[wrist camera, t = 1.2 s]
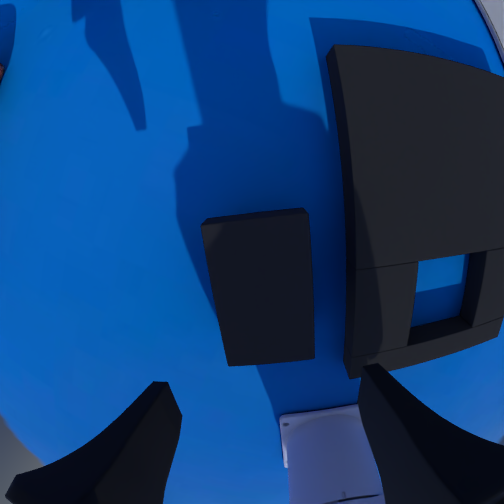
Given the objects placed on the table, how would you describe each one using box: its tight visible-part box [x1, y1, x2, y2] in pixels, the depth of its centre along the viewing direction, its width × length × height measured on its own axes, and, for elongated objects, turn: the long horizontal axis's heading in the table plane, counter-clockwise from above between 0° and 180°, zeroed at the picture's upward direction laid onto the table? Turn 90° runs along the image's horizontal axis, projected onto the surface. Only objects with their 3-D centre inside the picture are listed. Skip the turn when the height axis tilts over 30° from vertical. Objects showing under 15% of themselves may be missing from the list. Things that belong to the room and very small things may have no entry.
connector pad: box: [201, 208, 315, 366], centre depth 15 cm, size 8×5×4 cm, turn 7°
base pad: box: [326, 44, 504, 379], centre depth 15 cm, size 20×14×2 cm
